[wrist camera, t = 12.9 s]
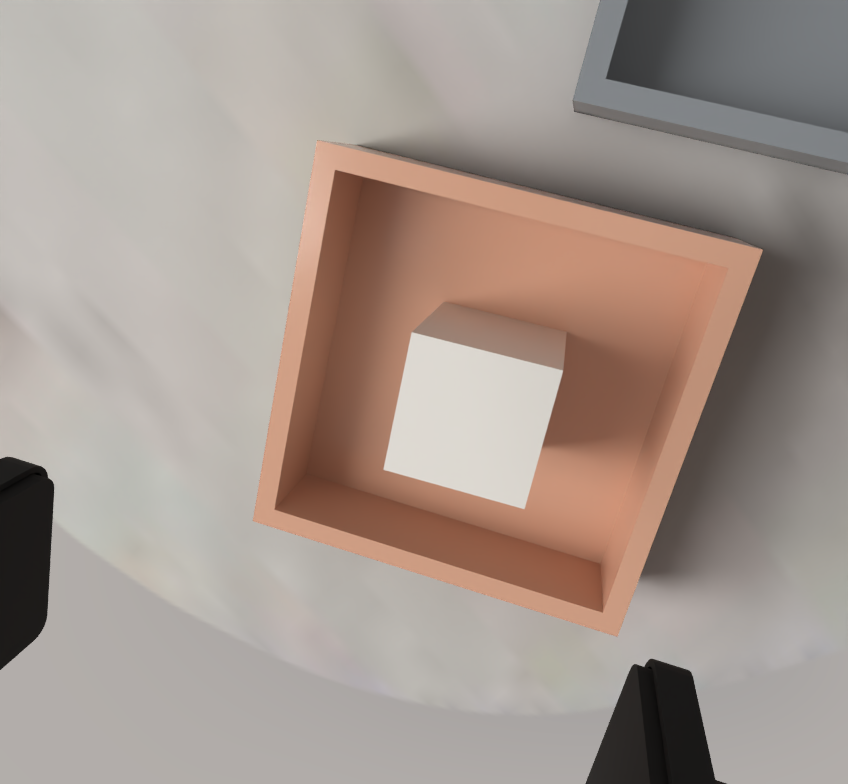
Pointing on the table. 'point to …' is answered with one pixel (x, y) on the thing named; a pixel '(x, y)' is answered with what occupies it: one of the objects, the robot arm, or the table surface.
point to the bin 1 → (515, 298)
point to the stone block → (476, 402)
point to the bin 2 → (725, 73)
